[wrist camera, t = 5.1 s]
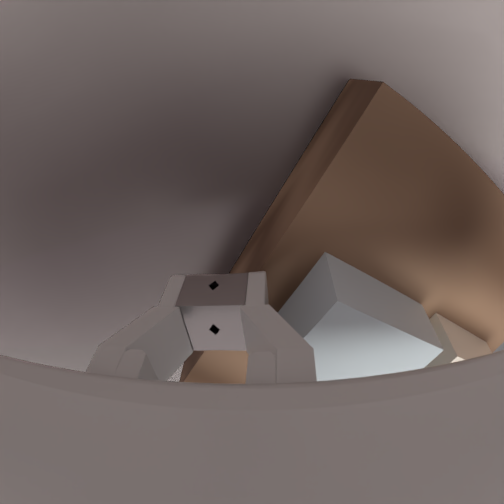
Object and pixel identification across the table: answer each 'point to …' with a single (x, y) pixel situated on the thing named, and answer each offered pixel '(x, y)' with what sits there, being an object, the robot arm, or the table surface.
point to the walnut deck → (381, 220)
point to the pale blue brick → (358, 323)
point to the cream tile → (455, 342)
